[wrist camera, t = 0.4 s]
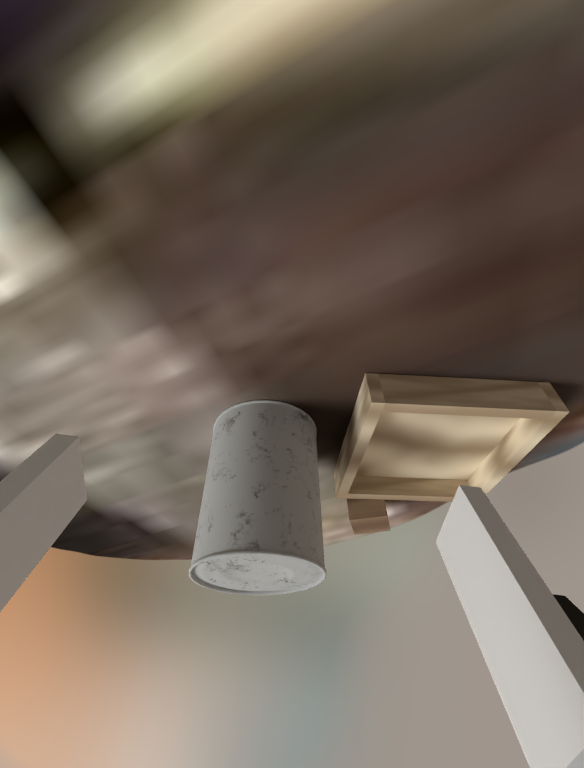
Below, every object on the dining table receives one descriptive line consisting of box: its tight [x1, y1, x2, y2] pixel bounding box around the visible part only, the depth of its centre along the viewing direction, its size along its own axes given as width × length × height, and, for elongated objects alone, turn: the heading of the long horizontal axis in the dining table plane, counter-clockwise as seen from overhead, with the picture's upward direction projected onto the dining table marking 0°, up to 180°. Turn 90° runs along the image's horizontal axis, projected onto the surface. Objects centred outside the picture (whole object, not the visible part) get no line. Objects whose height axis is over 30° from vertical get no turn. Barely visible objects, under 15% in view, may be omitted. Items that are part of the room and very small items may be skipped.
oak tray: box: [334, 373, 569, 501], centre depth 33 cm, size 15×15×3 cm
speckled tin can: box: [189, 400, 326, 595], centre depth 30 cm, size 10×10×12 cm
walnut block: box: [347, 498, 390, 534], centre depth 41 cm, size 4×4×4 cm
